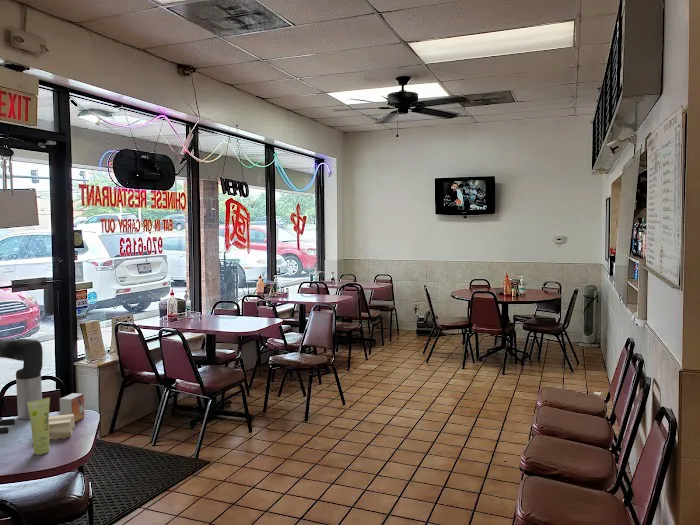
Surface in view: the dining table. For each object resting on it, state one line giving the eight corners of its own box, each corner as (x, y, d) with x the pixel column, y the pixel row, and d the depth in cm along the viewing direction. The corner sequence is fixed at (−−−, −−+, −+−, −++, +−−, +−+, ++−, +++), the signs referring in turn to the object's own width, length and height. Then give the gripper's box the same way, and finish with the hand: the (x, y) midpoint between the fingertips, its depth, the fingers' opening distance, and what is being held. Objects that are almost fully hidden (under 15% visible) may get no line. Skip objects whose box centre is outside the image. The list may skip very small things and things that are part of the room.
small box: (72, 424, 232) (71, 399, 231) (60, 423, 233) (58, 398, 233) (85, 417, 240) (83, 393, 239) (73, 416, 241) (72, 392, 240)
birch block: (41, 432, 224) (40, 417, 224) (74, 428, 228) (73, 413, 227) (35, 441, 215) (34, 426, 214) (70, 437, 218) (69, 422, 218)
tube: (43, 456, 202) (40, 402, 200) (29, 455, 202) (26, 402, 200) (52, 449, 207) (49, 397, 206) (39, 449, 207) (36, 397, 206)
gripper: (-50, 428, 189) (5, 422, 194) (-36, 414, 202) (16, 409, 207) (-49, 450, 190) (7, 443, 195) (-34, 434, 203) (17, 429, 208)
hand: (11, 425), depth 201 cm, fingers open, 8 cm apart
